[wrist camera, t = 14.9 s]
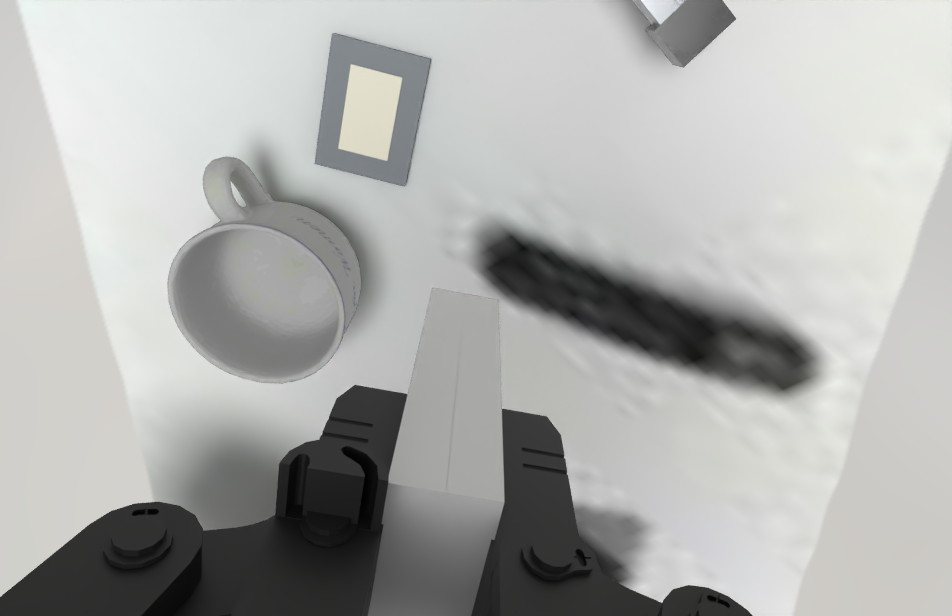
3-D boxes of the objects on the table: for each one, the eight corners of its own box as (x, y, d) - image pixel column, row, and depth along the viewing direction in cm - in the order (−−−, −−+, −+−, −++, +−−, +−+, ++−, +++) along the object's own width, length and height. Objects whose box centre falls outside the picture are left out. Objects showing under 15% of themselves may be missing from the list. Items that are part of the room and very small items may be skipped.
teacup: (374, 331, 46) (351, 389, 39) (231, 328, 47) (181, 385, 39) (361, 141, 40) (331, 168, 33) (197, 138, 41) (131, 164, 33)
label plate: (405, 184, 41) (404, 187, 41) (317, 161, 41) (313, 164, 40) (430, 59, 38) (429, 59, 37) (334, 33, 38) (331, 33, 37)
